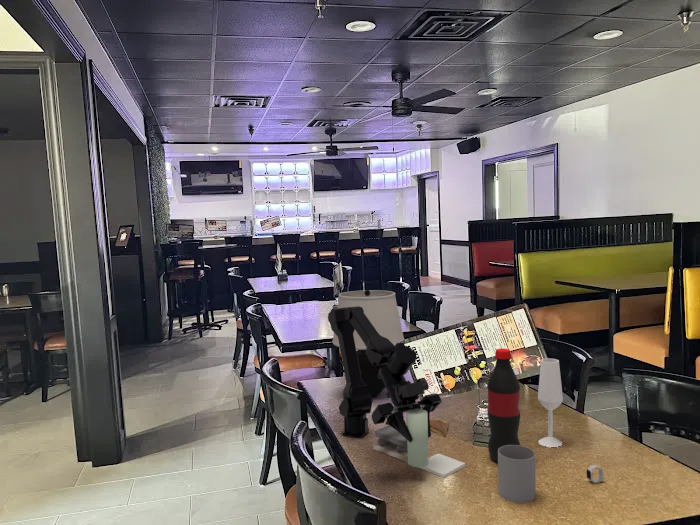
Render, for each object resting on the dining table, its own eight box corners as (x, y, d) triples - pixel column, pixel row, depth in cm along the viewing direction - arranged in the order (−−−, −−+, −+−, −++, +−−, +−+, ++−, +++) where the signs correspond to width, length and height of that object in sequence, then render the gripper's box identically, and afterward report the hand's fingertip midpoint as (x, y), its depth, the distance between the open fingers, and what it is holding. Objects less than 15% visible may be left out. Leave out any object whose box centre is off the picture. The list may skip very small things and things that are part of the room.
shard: (445, 439, 160) (445, 433, 160) (420, 436, 162) (420, 431, 162) (449, 425, 170) (449, 420, 170) (425, 423, 173) (425, 418, 172)
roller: (405, 465, 134) (403, 414, 133) (411, 456, 139) (409, 407, 138) (425, 468, 132) (424, 417, 131) (430, 459, 137) (429, 410, 136)
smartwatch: (600, 479, 131) (600, 463, 131) (605, 483, 129) (605, 467, 129) (586, 480, 131) (586, 464, 131) (591, 484, 129) (590, 468, 129)
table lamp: (319, 396, 203) (315, 291, 200) (370, 380, 221) (367, 284, 218) (369, 412, 183) (366, 296, 180) (420, 394, 201) (418, 288, 199)
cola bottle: (521, 454, 147) (520, 346, 145) (520, 467, 139) (519, 353, 137) (489, 450, 150) (488, 344, 148) (486, 463, 142) (485, 352, 140)
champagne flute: (566, 442, 154) (566, 359, 152) (557, 449, 149) (557, 364, 147) (544, 436, 158) (543, 356, 157) (534, 443, 153) (533, 361, 152)
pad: (416, 466, 141) (416, 463, 141) (438, 456, 147) (438, 453, 147) (443, 477, 134) (443, 474, 134) (465, 466, 140) (465, 463, 140)
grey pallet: (372, 448, 153) (372, 431, 153) (395, 438, 160) (395, 421, 160) (405, 461, 145) (404, 442, 144) (427, 449, 152) (427, 431, 151)
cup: (493, 486, 130) (492, 445, 129) (526, 483, 130) (526, 443, 130) (506, 504, 121) (506, 461, 120) (541, 501, 122) (541, 458, 121)
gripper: (375, 373, 133) (400, 431, 124) (437, 363, 141) (464, 416, 132) (361, 396, 140) (384, 452, 131) (420, 384, 149) (445, 436, 140)
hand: (420, 439), depth 134 cm, fingers closed on roller, 5 cm apart
